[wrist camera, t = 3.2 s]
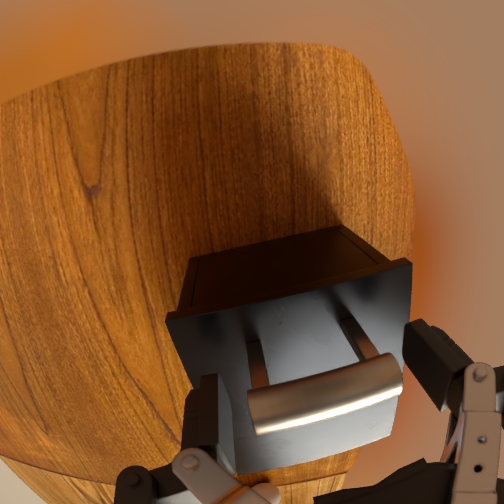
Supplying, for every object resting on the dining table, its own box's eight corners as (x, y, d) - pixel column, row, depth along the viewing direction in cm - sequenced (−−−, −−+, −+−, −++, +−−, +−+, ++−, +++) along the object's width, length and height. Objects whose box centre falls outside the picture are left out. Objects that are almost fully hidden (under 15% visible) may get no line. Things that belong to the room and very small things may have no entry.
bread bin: (189, 258, 22) (172, 325, 14) (343, 224, 22) (403, 270, 14) (231, 389, 27) (237, 466, 19) (350, 360, 27) (386, 427, 19)
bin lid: (166, 311, 14) (144, 402, 8) (404, 256, 14) (477, 312, 9) (237, 466, 19) (243, 529, 13) (386, 428, 19) (414, 482, 14)
